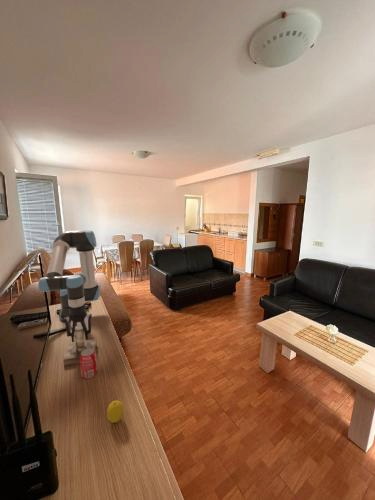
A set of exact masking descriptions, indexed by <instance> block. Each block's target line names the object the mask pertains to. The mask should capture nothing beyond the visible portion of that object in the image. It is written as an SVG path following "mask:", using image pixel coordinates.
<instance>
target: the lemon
mask: <svg viewBox="0 0 375 500" xmlns="http://www.w3.org/2000/svg"><path fill="white" fill-rule="evenodd" d="M123 413H124V407H123V404H122V402H121V401H119V400H117V399H116V400H112V402H110V403H109V405H108V406H107V410H106V415H107V416H106V417H107V419H108V421H109V422H110V423H112V424H113V423H117V422H119V421H121V419H122V417H123V415H124V414H123Z"/></svg>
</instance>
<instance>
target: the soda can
mask: <svg viewBox="0 0 375 500" xmlns="http://www.w3.org/2000/svg"><path fill="white" fill-rule="evenodd" d="M79 366H80V373H81V374H80V375H81V377H82V378H84V379H91V378H93V377H94V376H96V375H97V373H98V357H97V352H95V350H94V348H86V349H84V350H83V351H82V352H81V355H80V363H79Z"/></svg>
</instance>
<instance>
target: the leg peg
mask: <svg viewBox="0 0 375 500" xmlns="http://www.w3.org/2000/svg"><path fill="white" fill-rule="evenodd" d="M74 335H75V336H76V346H77V350H78V352H80V351H83V350H84V349H85V348H84V337H83V335H84V330H83V328H78V329H76V330H75V334H74Z"/></svg>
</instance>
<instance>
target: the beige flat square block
mask: <svg viewBox="0 0 375 500" xmlns="http://www.w3.org/2000/svg"><path fill="white" fill-rule="evenodd" d="M86 342H87V344H86V347H84V348H85V349H86V348H94V350H95V352H96V351H97V346H98V345H97V344H98V343H97V338H94V339H88V340H86ZM81 352H82V351H80V352H78V350H77V348H75V346H74V342H71V343H69V344H68V346H67V348H66V351H65V354H64V357H63V359H62V360H63V361H62V363H63V367H68V366H71V365H76V364H80V355H81ZM96 353H97V352H96Z"/></svg>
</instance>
